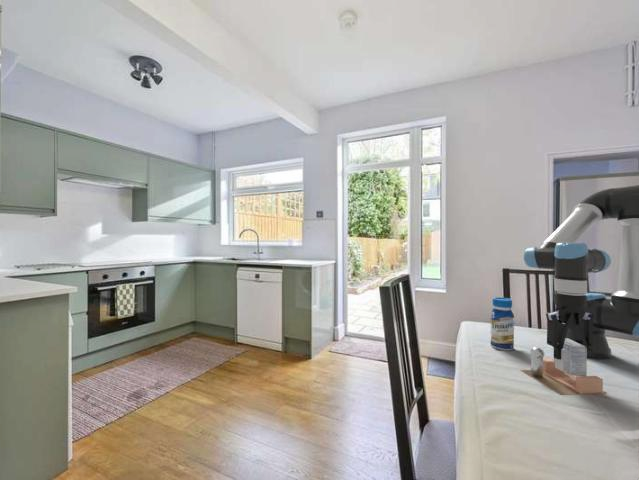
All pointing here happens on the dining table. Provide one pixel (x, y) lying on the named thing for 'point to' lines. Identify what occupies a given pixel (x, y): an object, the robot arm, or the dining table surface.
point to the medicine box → (575, 358)
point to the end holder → (573, 379)
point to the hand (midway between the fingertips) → (569, 369)
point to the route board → (553, 384)
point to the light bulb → (537, 362)
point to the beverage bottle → (502, 324)
